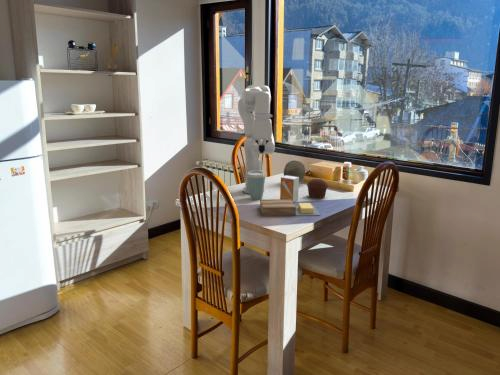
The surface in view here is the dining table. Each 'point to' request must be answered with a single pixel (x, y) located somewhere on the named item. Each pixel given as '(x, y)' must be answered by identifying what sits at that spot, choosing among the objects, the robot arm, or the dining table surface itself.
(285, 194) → the small box
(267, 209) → the deck
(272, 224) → the dining table surface
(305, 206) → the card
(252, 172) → the disposable coffee cup
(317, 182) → the muffin
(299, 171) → the cantaloupe
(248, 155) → the robot arm
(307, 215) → the mat
